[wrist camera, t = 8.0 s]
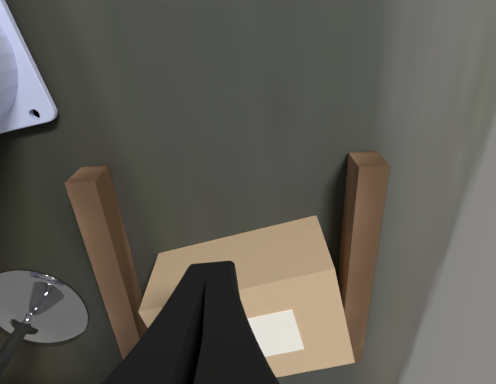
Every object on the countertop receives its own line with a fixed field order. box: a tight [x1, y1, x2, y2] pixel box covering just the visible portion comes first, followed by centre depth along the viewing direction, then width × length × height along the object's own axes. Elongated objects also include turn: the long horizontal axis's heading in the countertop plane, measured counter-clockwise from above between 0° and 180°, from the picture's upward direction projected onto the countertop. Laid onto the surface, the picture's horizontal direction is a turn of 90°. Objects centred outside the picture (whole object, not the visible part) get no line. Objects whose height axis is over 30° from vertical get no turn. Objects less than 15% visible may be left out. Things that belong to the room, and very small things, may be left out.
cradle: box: [65, 151, 390, 363], centre depth 21 cm, size 16×14×2 cm
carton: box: [138, 216, 355, 377], centre depth 21 cm, size 10×7×5 cm
